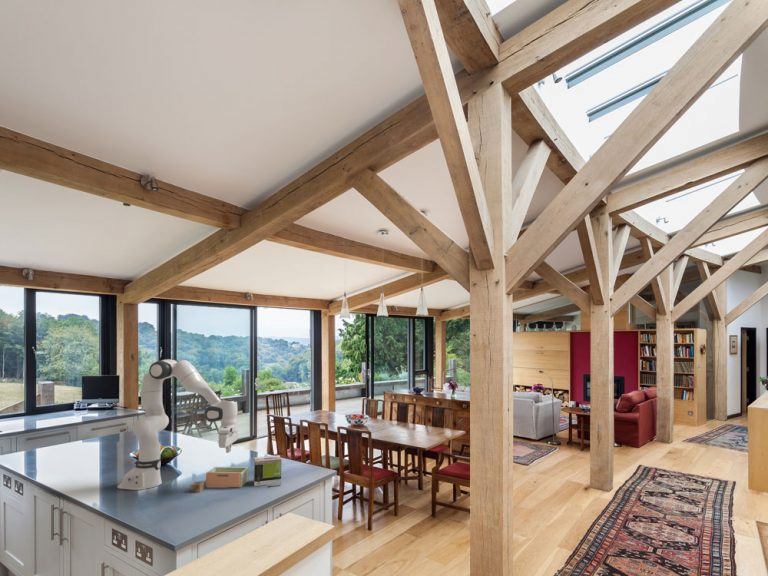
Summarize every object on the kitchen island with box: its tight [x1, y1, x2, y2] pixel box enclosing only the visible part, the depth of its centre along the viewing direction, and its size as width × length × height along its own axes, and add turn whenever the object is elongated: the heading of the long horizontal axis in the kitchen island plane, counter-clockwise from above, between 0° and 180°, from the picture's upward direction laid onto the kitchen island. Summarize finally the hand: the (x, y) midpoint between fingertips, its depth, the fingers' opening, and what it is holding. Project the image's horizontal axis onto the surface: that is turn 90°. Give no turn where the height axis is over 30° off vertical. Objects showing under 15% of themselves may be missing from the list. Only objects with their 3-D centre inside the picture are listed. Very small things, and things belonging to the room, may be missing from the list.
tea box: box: [253, 454, 282, 487], centre depth 253 cm, size 15×10×15 cm, turn 108°
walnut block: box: [190, 481, 205, 493], centre depth 239 cm, size 5×5×5 cm
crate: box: [205, 466, 250, 488], centre depth 250 cm, size 20×12×8 cm, turn 89°
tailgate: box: [205, 471, 241, 488], centre depth 244 cm, size 19×1×8 cm, turn 89°
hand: (228, 452), depth 251 cm, fingers closed
